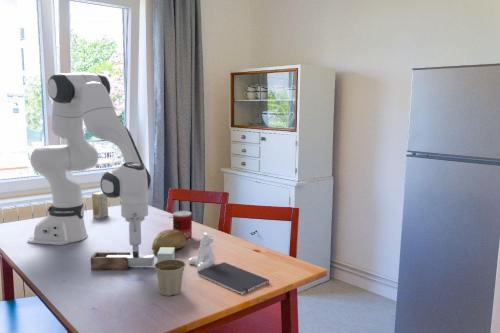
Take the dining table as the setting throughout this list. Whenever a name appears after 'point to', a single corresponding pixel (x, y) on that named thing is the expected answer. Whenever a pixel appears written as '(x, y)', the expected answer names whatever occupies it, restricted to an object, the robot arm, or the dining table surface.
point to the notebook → (232, 277)
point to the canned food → (183, 223)
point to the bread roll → (169, 240)
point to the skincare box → (99, 205)
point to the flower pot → (170, 276)
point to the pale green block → (166, 253)
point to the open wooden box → (109, 261)
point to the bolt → (137, 259)
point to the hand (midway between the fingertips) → (135, 249)
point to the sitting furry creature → (204, 253)
